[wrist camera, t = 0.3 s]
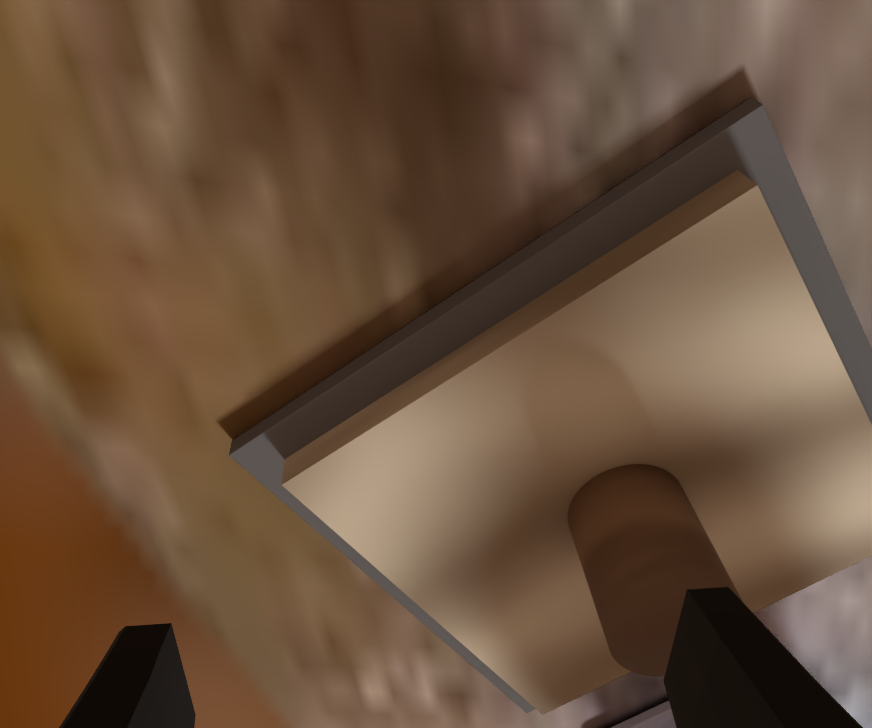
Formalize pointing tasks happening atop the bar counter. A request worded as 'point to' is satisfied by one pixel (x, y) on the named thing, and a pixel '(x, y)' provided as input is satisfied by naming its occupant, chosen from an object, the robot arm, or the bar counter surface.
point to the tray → (541, 271)
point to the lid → (613, 456)
